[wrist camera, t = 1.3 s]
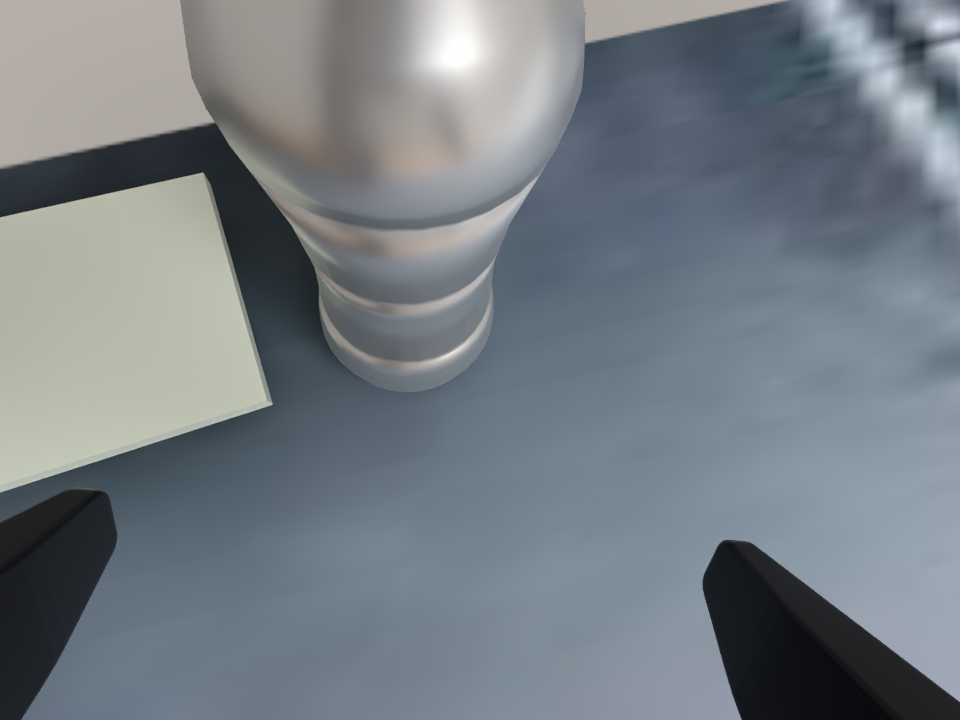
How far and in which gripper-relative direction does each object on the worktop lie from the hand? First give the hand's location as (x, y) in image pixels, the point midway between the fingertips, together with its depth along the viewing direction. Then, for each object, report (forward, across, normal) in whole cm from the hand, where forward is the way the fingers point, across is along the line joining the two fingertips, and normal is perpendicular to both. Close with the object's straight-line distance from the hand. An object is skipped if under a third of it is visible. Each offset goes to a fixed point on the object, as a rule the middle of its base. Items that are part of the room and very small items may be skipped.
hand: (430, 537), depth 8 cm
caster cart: (+14, +12, +5) cm, 20 cm away
